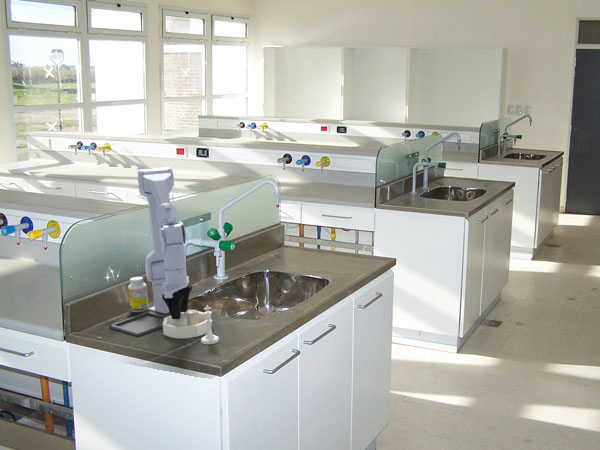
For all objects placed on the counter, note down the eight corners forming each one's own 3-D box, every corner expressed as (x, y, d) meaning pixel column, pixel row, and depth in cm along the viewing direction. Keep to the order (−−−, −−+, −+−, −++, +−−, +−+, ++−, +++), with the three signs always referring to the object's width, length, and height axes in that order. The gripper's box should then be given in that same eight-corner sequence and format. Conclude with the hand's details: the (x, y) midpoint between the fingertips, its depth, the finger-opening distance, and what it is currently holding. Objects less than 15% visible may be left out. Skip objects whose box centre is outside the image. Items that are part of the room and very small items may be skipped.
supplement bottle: (133, 307, 223) (130, 276, 221) (151, 307, 223) (148, 275, 221) (128, 313, 218) (124, 281, 216) (145, 313, 217) (142, 280, 215)
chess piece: (201, 338, 194) (198, 303, 192) (219, 337, 194) (216, 302, 192) (200, 345, 189) (197, 309, 187) (218, 343, 189) (216, 307, 187)
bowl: (189, 320, 209) (188, 308, 208) (220, 328, 201) (220, 316, 200) (154, 333, 199) (153, 321, 198) (186, 342, 191) (185, 330, 190)
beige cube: (186, 325, 203) (184, 310, 202) (200, 324, 203) (198, 309, 202) (184, 330, 199) (183, 315, 198) (199, 329, 199) (197, 313, 198)
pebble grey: (177, 328, 200) (176, 313, 199) (190, 329, 199) (189, 314, 198) (170, 333, 197) (169, 318, 195) (183, 335, 195) (182, 320, 194)
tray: (148, 315, 215) (148, 311, 215) (177, 322, 207) (176, 318, 207) (109, 329, 205) (109, 325, 204) (138, 337, 196) (138, 333, 196)
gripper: (170, 260, 202) (174, 306, 204) (151, 275, 188) (156, 324, 190) (194, 260, 200) (198, 306, 203) (177, 275, 186) (181, 324, 189)
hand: (179, 315), depth 197 cm, fingers open, 5 cm apart
